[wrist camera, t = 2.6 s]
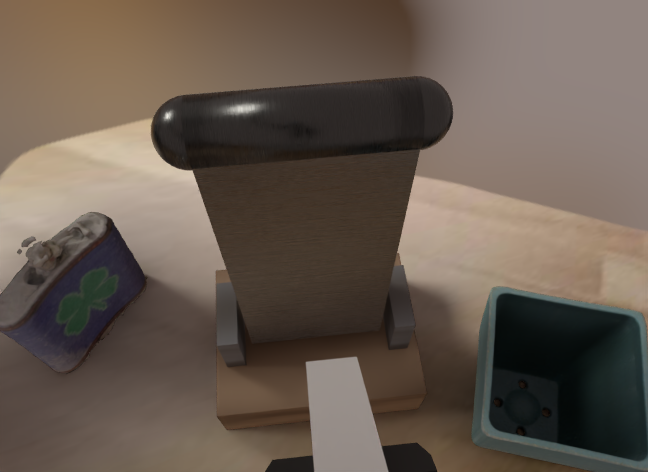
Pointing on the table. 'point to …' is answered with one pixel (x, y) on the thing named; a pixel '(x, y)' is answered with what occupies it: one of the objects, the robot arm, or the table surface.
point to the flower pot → (563, 381)
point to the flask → (71, 292)
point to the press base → (291, 356)
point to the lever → (306, 192)
